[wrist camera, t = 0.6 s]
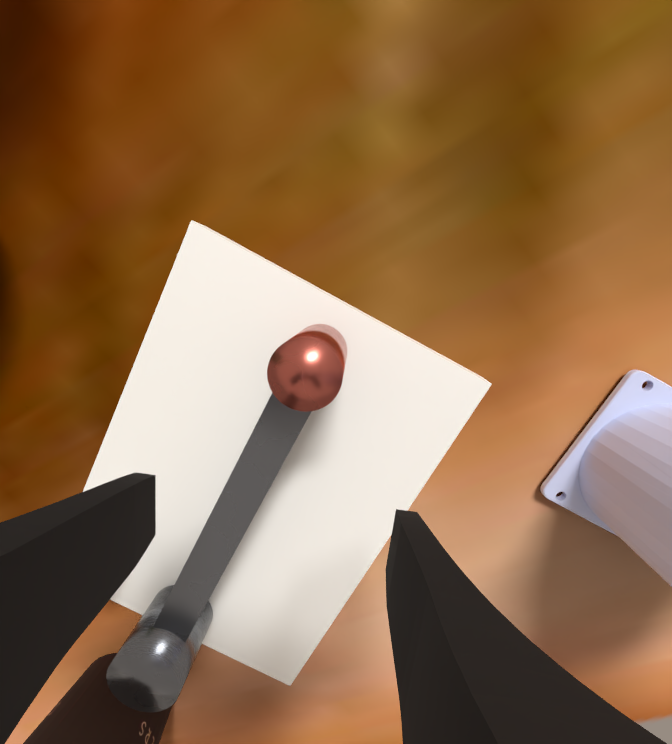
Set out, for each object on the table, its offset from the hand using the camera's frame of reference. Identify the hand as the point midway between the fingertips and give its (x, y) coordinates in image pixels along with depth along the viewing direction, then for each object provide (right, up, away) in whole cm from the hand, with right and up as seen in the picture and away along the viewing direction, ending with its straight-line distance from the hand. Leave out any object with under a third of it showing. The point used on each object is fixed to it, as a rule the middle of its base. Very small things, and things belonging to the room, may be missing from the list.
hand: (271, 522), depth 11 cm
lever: (-3, -2, +9) cm, 9 cm away
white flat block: (-3, -1, +10) cm, 11 cm away
